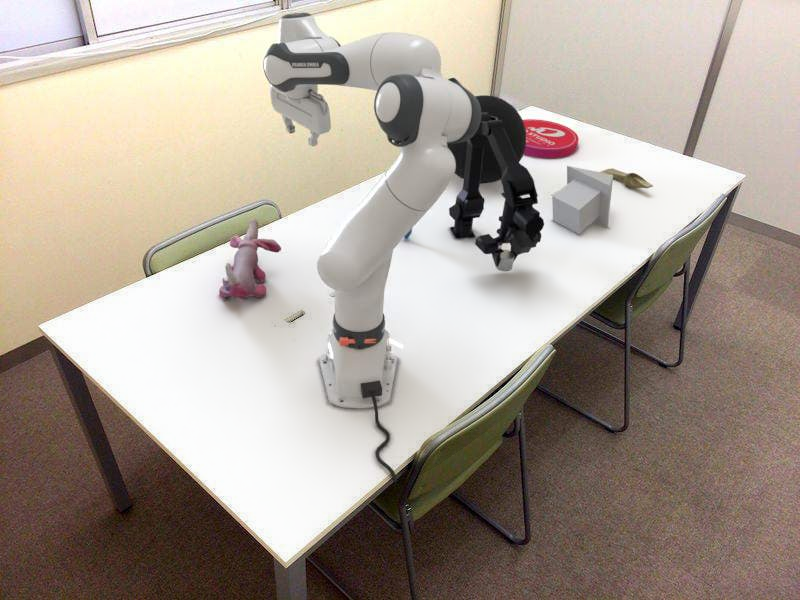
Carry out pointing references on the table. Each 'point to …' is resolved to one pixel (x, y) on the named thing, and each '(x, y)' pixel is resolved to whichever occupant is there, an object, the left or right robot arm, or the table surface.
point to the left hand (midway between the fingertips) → (301, 138)
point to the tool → (629, 178)
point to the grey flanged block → (583, 199)
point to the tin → (506, 261)
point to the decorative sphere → (489, 162)
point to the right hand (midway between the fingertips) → (504, 263)
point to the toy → (247, 265)
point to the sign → (549, 139)
